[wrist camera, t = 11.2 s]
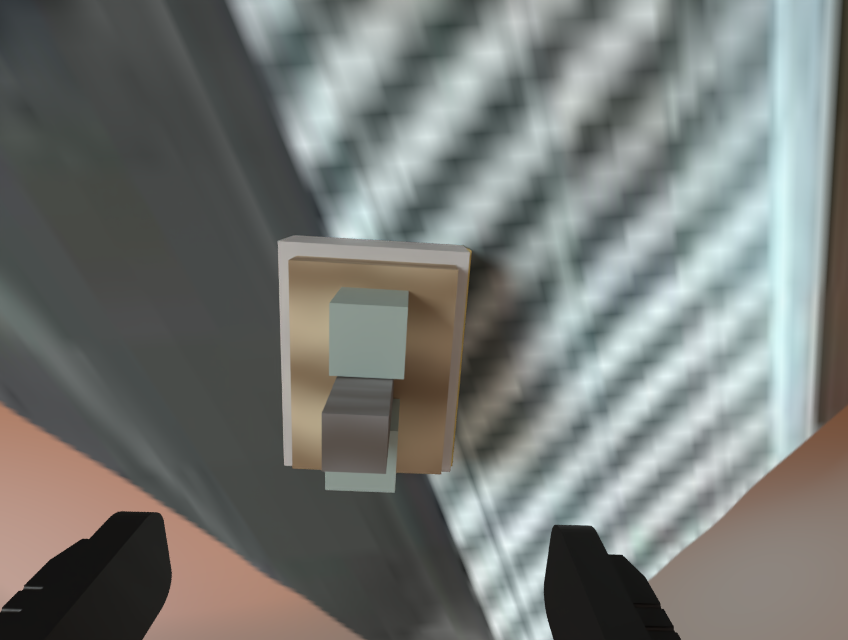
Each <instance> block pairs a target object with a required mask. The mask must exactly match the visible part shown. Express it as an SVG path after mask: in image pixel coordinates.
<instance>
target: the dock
mask: <svg viewBox="0 0 848 640" xmlns="http://www.w3.org/2000/svg"><path fill="white" fill-rule="evenodd" d="M471 253H472V251H471V250H470V249H467V248H465V247H464V246H463V245H450V244H433V243H416V242H400V241H383V240H366V239H349V238H332V237H316V236H299V235H294V236H291V237H288V238H285V239H282V240H280V241H278V262H279V297H280V333H281V368H282V404H283V439H284V465H286V466H292V421H291V371H290V322H289V272H288V260H289V259H291V258H293V257H295V256H314V257H330V258H347V259H364V260H381V261H398V262H414V263H431V264H448V265H456V267H457V268H458V270H459V272H458V283H457V295H456V307H455V318H454V330H453V342H452V353H451V365H450V377H449V389H448V400H447V412H446V424H445V435H444V447H443V459H442V470H441V472H450V469H451V466H452V463H453V452H454V441H455V430H456V419H457V408H458V397H459V386H460V374H461V363H462V352H463V341H464V330H465V319H466V308H467V297H468V286H469V275H470V264H471Z"/></svg>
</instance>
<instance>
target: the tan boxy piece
mask: <svg viewBox="0 0 848 640" xmlns="http://www.w3.org/2000/svg"><path fill="white" fill-rule="evenodd" d="M288 272H289V322H290V371H291V421H292V468H294V469H319V470H322V471H324V472H349V473H374V474H386V469H387V458H388V448H389V437H390V427H391V416H392V405H393V399H400V408H399V426H398V445H397V462H396V473H419V474H441V470H442V459H443V447H444V435H445V424H446V412H447V400H448V389H449V377H450V365H451V353H452V342H453V330H454V318H455V307H456V295H457V283H458V272H459V270H458V268H457V267H456V265H448V264H431V263H414V262H398V261H381V260H364V259H347V258H330V257H314V256H295V257H293V258H291V259H289V260H288ZM341 287H351V288H369V289H386V290H404V291H409V294H408V316H407V334H406V352H405V370H404V379H385V378H365V377H345V376H329V303H330V301H331V300H332V299H333V298H334V296H335V295H336V294H337V292H338V291H339V290H340V288H341Z"/></svg>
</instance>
